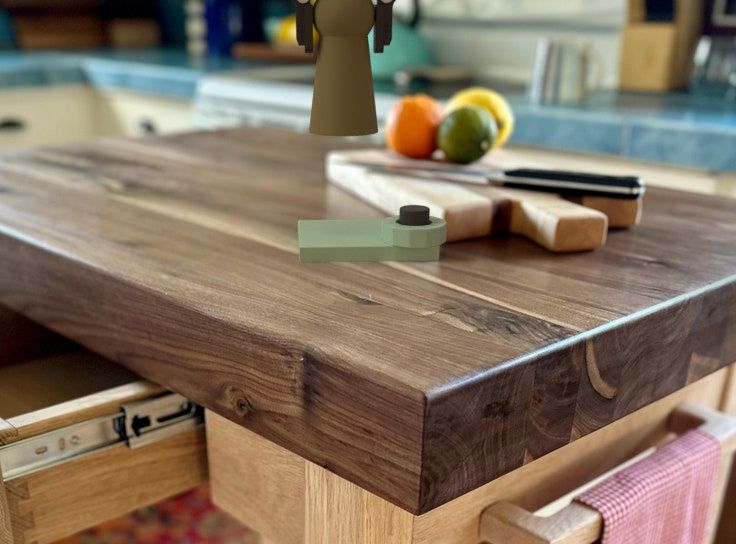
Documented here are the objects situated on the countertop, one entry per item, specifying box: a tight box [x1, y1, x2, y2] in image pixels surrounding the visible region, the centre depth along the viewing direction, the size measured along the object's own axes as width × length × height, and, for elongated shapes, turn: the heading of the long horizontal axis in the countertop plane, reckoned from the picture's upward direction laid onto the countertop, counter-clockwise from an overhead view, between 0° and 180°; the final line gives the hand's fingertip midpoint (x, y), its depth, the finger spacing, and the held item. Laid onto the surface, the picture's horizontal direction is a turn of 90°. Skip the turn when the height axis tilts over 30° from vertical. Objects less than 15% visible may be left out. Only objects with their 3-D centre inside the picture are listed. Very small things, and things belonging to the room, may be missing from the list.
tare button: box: [398, 204, 431, 226], centre depth 75 cm, size 3×3×2 cm
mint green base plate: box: [297, 214, 448, 263], centre depth 78 cm, size 13×11×3 cm
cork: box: [308, 0, 379, 138], centre depth 73 cm, size 6×6×11 cm
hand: (344, 51), depth 73 cm, fingers closed on cork, 5 cm apart
